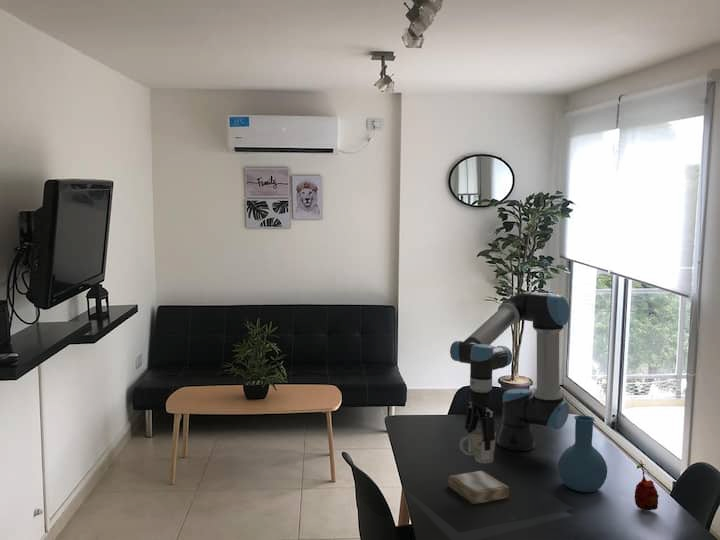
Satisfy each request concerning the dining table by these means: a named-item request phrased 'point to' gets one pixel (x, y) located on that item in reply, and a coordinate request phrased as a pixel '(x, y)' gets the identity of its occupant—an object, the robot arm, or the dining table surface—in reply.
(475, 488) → the plinth
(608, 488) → the dining table surface
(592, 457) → the vase
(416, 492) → the dining table surface
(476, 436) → the mug
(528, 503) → the dining table surface
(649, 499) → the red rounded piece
